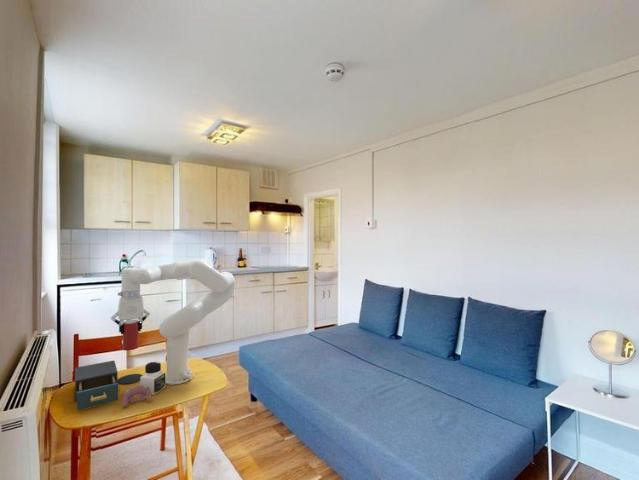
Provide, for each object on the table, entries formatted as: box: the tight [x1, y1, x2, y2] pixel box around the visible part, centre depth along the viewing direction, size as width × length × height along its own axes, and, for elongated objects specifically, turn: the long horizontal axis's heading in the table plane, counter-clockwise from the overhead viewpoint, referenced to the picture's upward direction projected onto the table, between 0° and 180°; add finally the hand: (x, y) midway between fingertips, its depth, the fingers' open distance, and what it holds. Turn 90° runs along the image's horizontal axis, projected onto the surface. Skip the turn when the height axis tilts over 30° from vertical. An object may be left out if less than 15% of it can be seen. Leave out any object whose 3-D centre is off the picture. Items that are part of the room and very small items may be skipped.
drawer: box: [76, 374, 119, 411], centre depth 129 cm, size 19×13×7 cm
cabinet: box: [74, 359, 119, 402], centre depth 140 cm, size 16×15×9 cm
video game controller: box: [122, 385, 152, 409], centre depth 130 cm, size 10×5×7 cm, turn 123°
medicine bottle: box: [139, 361, 166, 396], centre depth 140 cm, size 7×7×12 cm
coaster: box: [117, 373, 144, 386], centre depth 150 cm, size 10×10×1 cm
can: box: [122, 319, 140, 352], centre depth 149 cm, size 6×6×13 cm
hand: (130, 331), depth 149 cm, fingers closed on can, 6 cm apart
